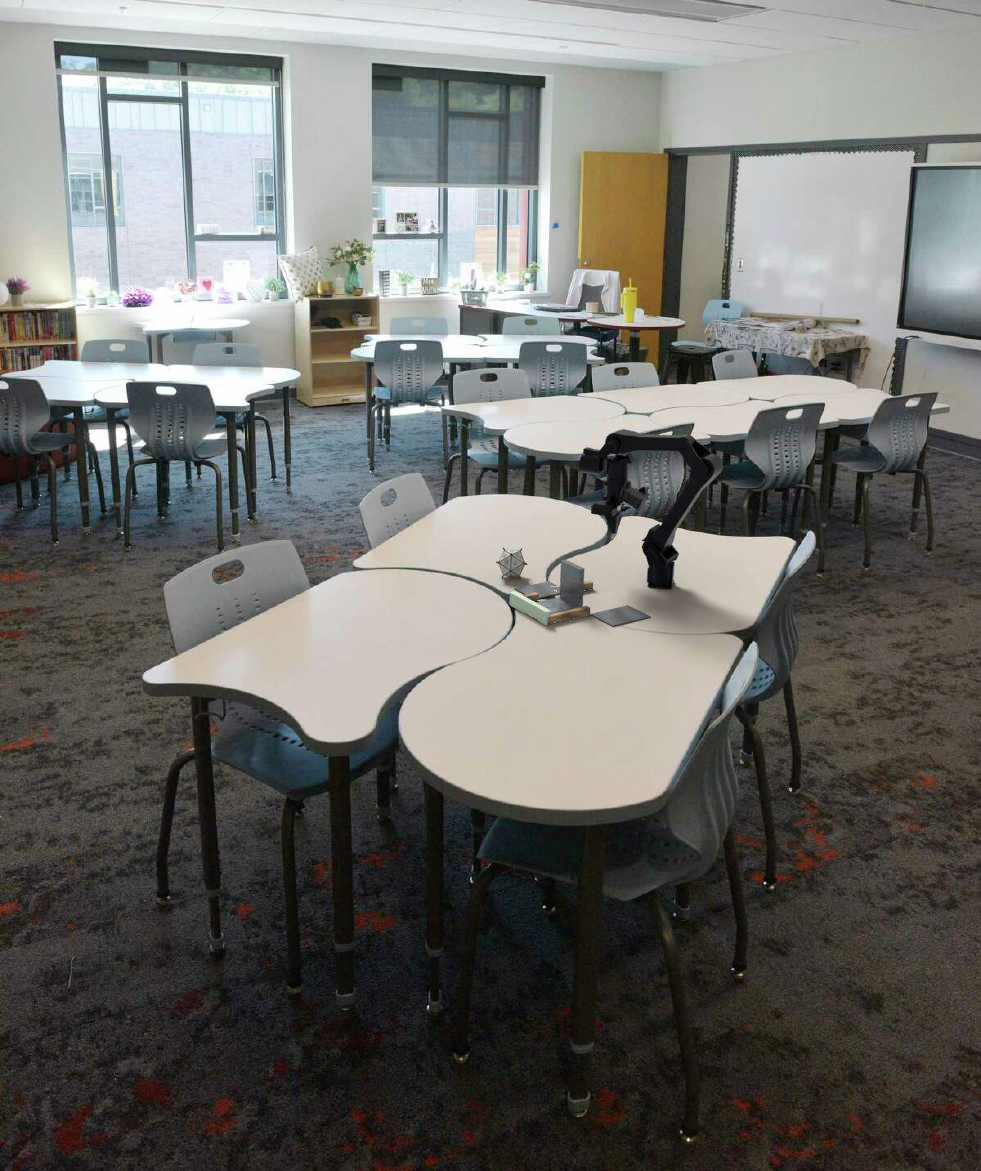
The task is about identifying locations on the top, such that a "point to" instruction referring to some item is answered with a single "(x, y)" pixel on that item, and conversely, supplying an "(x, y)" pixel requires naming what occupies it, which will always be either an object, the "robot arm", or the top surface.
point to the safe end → (529, 607)
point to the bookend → (567, 589)
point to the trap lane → (608, 616)
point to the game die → (511, 563)
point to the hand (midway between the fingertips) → (614, 533)
